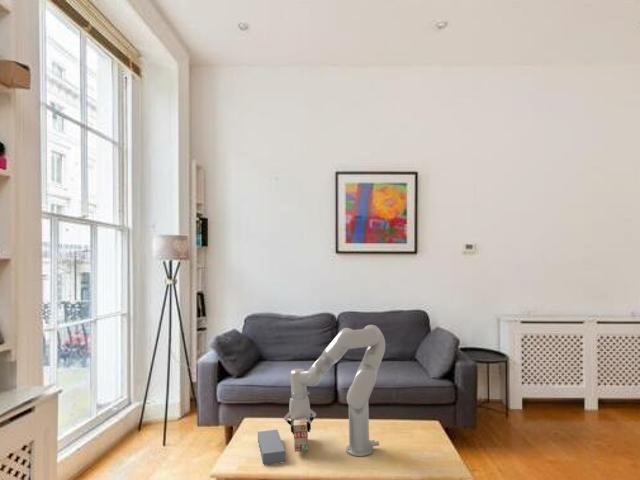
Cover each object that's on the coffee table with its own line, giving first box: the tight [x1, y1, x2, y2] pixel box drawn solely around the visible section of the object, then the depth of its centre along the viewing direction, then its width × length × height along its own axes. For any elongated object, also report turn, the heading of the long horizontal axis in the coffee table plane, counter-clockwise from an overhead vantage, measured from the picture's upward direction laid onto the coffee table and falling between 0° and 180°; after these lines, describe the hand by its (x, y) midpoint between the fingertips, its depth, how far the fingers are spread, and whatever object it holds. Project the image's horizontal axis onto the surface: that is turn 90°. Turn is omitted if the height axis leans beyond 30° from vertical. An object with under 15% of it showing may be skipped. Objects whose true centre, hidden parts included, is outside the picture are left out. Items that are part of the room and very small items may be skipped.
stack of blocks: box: [293, 417, 309, 453], centre depth 210 cm, size 21×6×12 cm, turn 2°
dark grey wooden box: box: [257, 429, 286, 466], centre depth 206 cm, size 10×26×5 cm, turn 13°
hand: (300, 432), depth 209 cm, fingers closed on stack of blocks, 6 cm apart
